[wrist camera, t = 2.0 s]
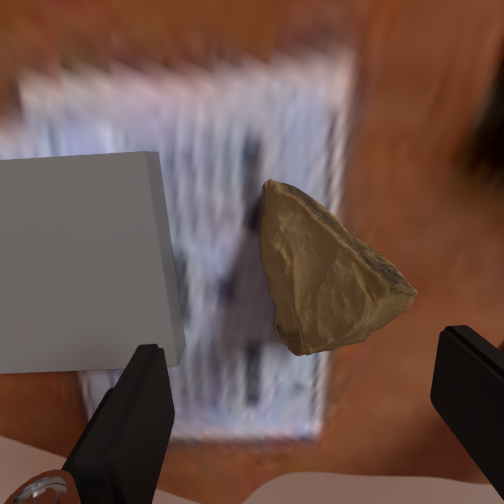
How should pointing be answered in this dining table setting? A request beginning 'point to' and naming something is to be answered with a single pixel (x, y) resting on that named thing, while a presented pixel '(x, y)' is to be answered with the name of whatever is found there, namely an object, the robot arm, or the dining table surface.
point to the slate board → (85, 263)
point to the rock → (324, 276)
